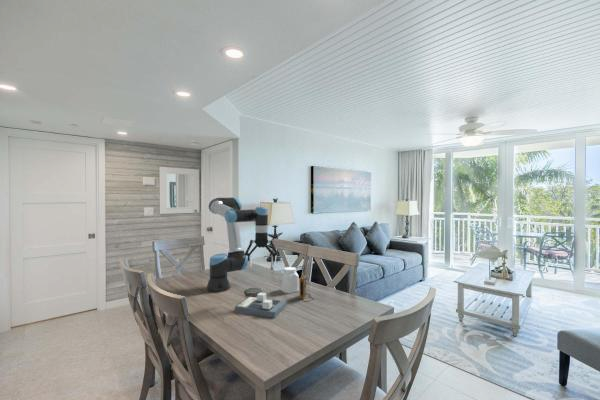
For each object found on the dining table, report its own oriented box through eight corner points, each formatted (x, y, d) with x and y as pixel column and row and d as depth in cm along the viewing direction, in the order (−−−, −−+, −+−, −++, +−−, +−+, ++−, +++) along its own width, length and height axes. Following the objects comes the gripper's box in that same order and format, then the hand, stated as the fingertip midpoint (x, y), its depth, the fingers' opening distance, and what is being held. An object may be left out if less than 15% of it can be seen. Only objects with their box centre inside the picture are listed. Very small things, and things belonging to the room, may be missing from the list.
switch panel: (235, 311, 153) (235, 305, 153) (249, 301, 169) (249, 296, 169) (274, 317, 146) (274, 311, 146) (286, 306, 161) (286, 300, 161)
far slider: (257, 300, 161) (256, 294, 161) (260, 298, 165) (260, 292, 165) (263, 301, 160) (263, 295, 159) (266, 299, 163) (266, 293, 163)
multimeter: (314, 302, 167) (314, 269, 167) (298, 301, 169) (298, 268, 169) (318, 294, 181) (318, 263, 181) (303, 293, 183) (303, 263, 183)
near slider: (262, 308, 150) (262, 301, 150) (265, 305, 153) (265, 299, 153) (269, 309, 148) (269, 302, 148) (272, 306, 152) (272, 300, 152)
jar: (293, 287, 196) (293, 265, 196) (300, 291, 188) (301, 268, 188) (279, 289, 190) (279, 268, 190) (286, 294, 182) (286, 271, 182)
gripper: (239, 232, 167) (239, 267, 167) (281, 233, 166) (281, 268, 167) (242, 231, 175) (242, 264, 175) (282, 231, 174) (282, 265, 174)
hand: (261, 266), depth 171 cm, fingers open, 13 cm apart
